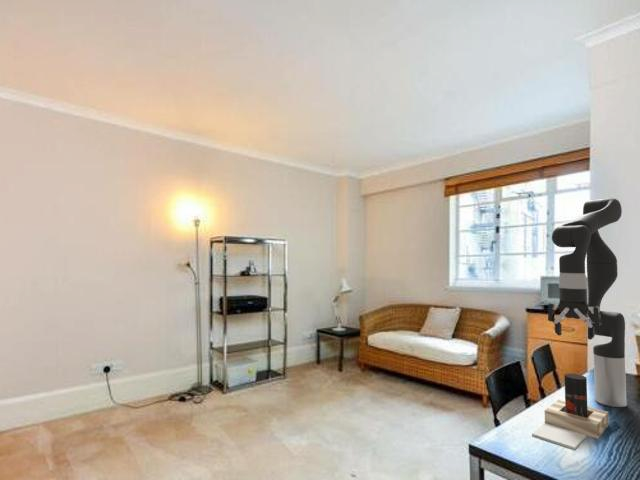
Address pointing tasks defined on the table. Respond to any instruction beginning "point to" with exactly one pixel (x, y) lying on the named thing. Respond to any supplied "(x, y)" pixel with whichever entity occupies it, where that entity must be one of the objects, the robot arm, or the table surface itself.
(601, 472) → the table surface
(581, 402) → the deodorant
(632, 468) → the table surface
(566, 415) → the holder
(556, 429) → the mat
